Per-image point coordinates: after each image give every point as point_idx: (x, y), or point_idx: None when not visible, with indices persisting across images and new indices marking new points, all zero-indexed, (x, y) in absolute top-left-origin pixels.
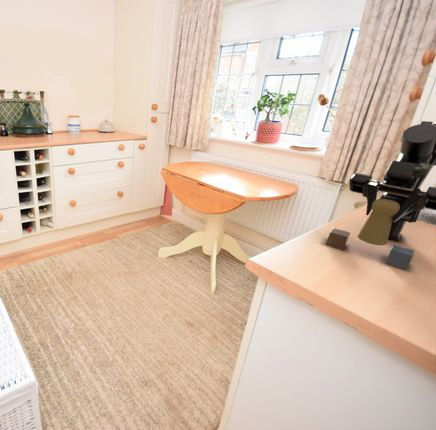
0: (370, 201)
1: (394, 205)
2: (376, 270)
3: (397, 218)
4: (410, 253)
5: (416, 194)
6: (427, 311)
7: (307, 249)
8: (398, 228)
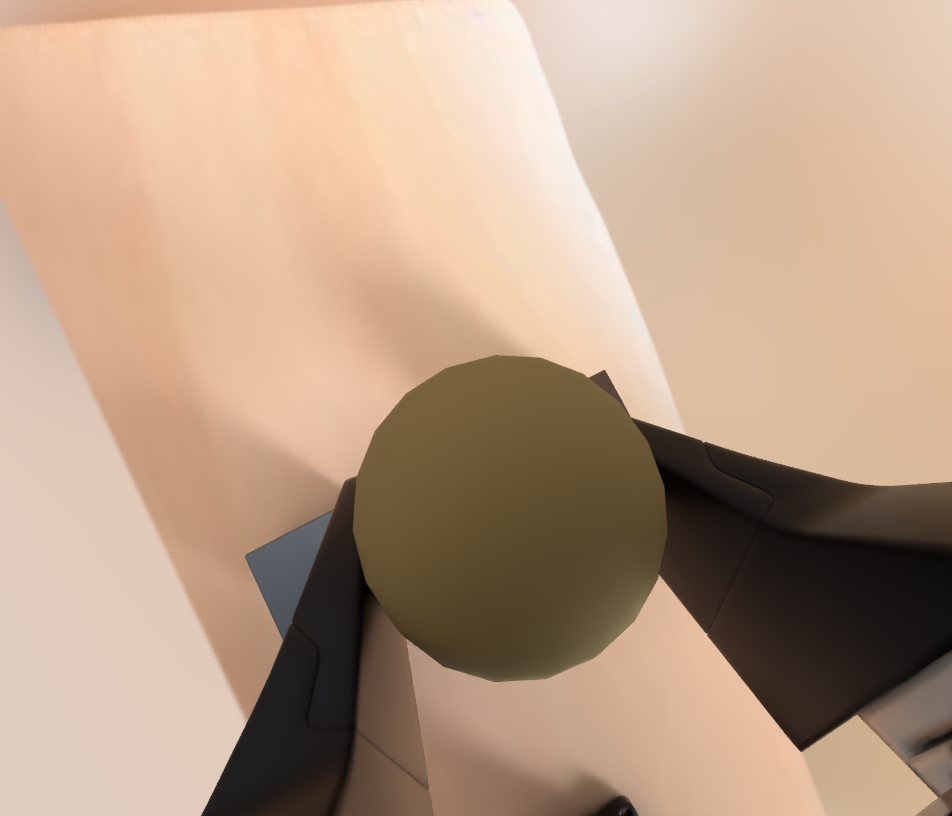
0: (677, 449)
1: (384, 453)
2: (325, 383)
3: (338, 509)
4: (270, 577)
5: None
6: (44, 259)
7: (549, 260)
8: None
